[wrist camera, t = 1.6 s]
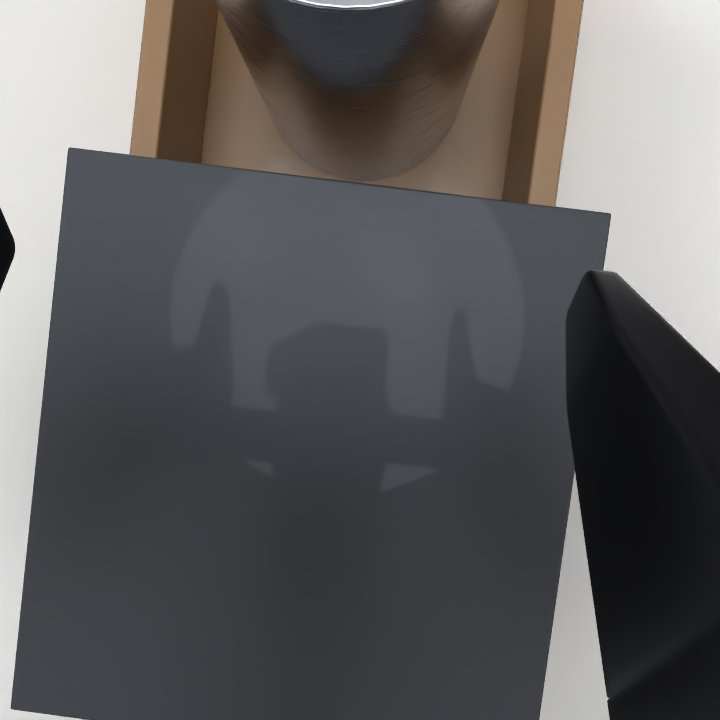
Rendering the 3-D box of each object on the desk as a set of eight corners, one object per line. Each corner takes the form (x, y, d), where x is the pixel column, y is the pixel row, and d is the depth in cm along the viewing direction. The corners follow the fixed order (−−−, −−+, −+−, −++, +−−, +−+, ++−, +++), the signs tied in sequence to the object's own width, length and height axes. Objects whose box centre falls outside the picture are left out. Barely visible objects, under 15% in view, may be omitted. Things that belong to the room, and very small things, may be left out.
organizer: (159, 203, 23) (67, 146, 16) (539, 249, 23) (611, 213, 16) (115, 600, 24) (9, 709, 17) (484, 650, 23) (531, 781, 16)
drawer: (215, -230, 21) (164, -411, 16) (588, -188, 21) (659, -359, 16) (157, 287, 22) (91, 273, 17) (517, 332, 22) (561, 332, 17)
